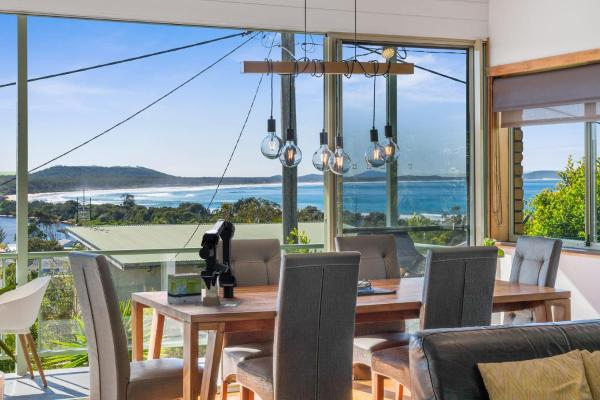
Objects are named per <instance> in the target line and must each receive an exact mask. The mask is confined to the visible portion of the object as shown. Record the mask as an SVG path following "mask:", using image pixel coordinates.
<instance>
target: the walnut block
mask: <svg viewBox="0 0 600 400" xmlns="http://www.w3.org/2000/svg"><path fill="white" fill-rule="evenodd" d="M202 301H203V306H202V307H217V306H218V305H219V304H220V302H221V295H218V296H217V297H215V298H212V297H206V295H205V296H203V297H202Z"/></svg>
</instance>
